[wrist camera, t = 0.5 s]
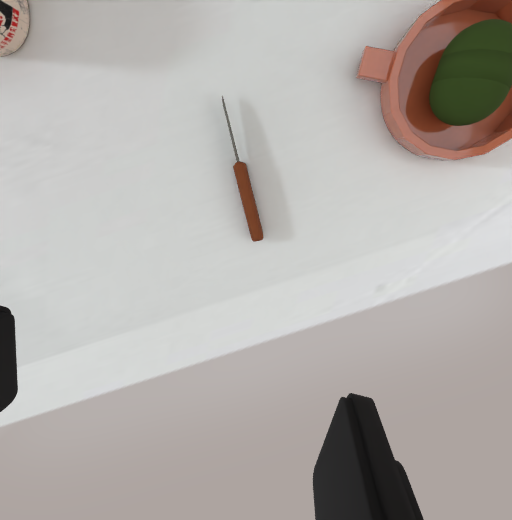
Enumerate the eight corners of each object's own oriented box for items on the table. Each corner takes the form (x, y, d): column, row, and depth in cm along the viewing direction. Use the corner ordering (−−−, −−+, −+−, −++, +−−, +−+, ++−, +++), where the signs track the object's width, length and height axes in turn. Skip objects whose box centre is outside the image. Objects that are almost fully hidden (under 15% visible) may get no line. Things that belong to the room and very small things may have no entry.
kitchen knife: (264, 237, 36) (263, 241, 34) (253, 239, 37) (251, 243, 35) (230, 95, 32) (226, 91, 30) (218, 99, 32) (213, 95, 31)
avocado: (439, 31, 28) (477, -3, 23) (504, 42, 28) (559, 11, 22) (409, 123, 31) (437, 113, 25) (469, 134, 31) (510, 127, 25)
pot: (378, -15, 28) (388, -35, 25) (587, 22, 27) (622, 5, 25) (338, 140, 32) (342, 137, 30) (518, 176, 32) (541, 177, 29)
